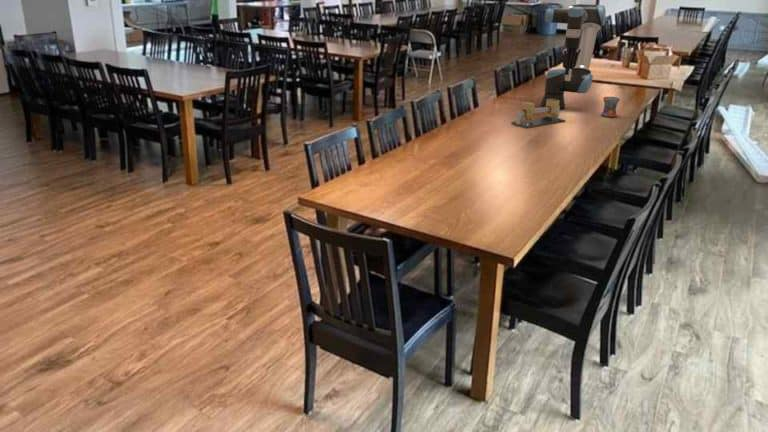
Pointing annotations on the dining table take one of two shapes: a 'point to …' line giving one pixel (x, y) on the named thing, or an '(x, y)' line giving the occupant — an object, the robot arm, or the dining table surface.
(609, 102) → the mug
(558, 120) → the hole plate
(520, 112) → the dividers bar
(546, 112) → the block
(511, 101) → the dining table surface
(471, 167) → the dining table surface
